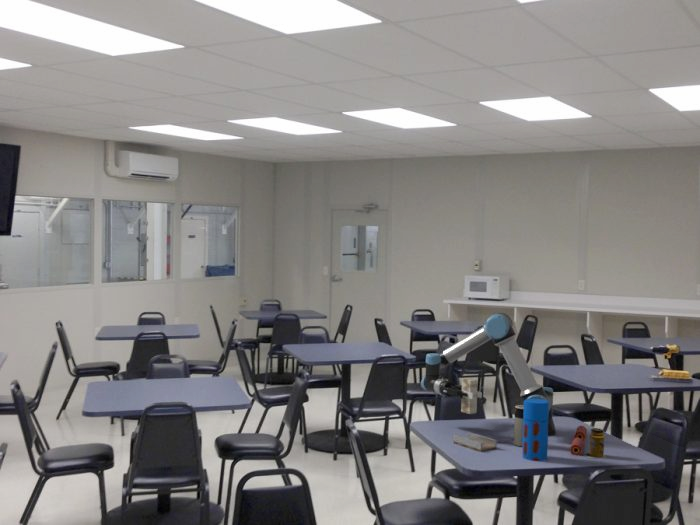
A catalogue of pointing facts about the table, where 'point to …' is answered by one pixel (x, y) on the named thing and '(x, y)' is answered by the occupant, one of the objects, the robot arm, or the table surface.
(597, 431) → the condiment
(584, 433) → the blood vessel
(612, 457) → the table surface
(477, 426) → the table surface
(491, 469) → the table surface
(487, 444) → the floor track
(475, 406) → the pale wooden block
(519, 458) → the table surface
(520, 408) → the travel mug
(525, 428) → the thermos
